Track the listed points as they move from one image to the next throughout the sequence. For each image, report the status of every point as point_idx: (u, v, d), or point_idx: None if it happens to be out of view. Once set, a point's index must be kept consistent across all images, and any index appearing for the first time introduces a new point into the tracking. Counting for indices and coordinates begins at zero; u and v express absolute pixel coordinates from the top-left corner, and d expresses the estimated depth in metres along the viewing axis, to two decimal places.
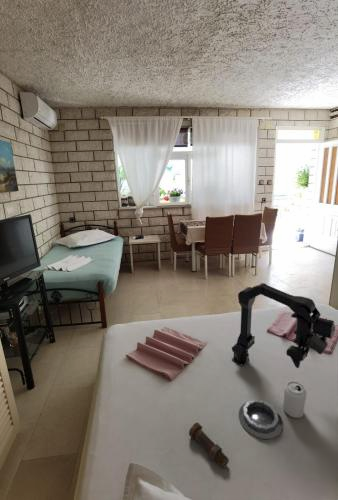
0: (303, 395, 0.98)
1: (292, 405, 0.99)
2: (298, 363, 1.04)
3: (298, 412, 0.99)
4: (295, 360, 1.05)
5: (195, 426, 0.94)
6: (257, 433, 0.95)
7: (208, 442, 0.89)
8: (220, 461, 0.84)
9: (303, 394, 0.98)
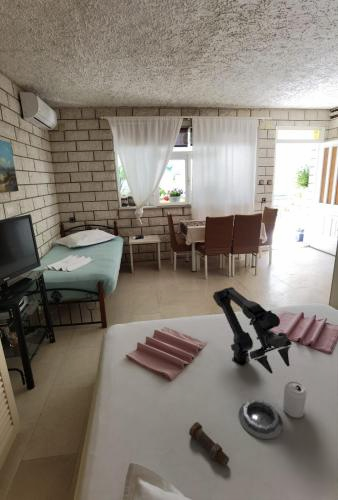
0: (303, 395, 0.98)
1: (292, 405, 0.99)
2: (267, 366, 1.06)
3: (298, 412, 0.99)
4: (264, 364, 1.07)
5: (195, 426, 0.94)
6: (257, 433, 0.95)
7: (208, 441, 0.90)
8: (220, 460, 0.84)
9: (303, 394, 0.98)
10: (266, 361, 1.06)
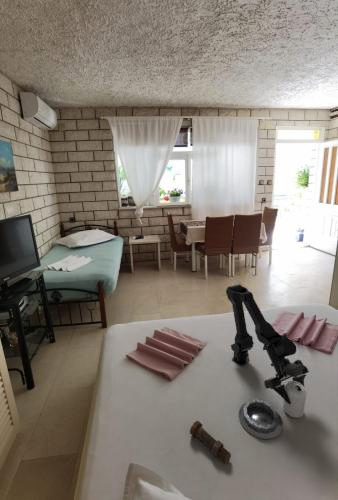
0: (303, 395, 0.98)
1: (292, 405, 0.99)
2: (284, 396, 0.99)
3: (298, 412, 0.99)
4: (281, 393, 1.01)
5: (196, 424, 0.94)
6: (257, 433, 0.95)
7: (210, 439, 0.90)
8: (223, 457, 0.86)
9: (303, 394, 0.98)
10: (284, 391, 1.00)
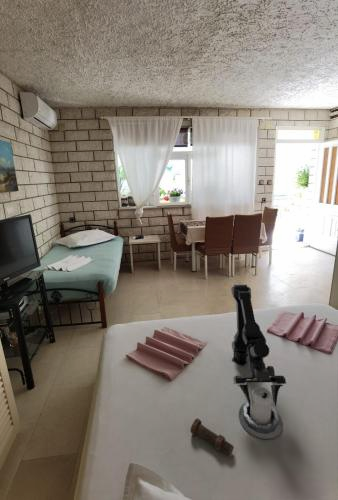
0: (265, 403, 0.95)
1: (254, 409, 0.97)
2: (246, 396, 0.98)
3: (259, 419, 0.97)
4: (245, 393, 1.00)
5: (196, 422, 0.95)
6: (257, 433, 0.95)
7: (211, 435, 0.92)
8: (226, 450, 0.88)
9: (265, 402, 0.95)
10: (246, 391, 0.98)
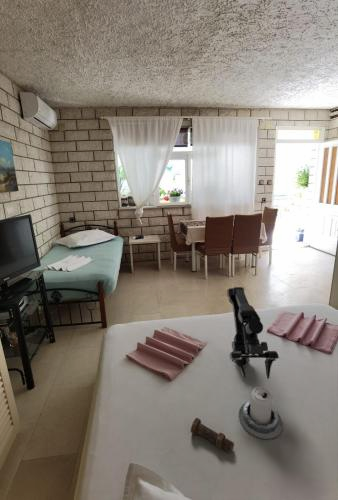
0: (265, 403, 0.95)
1: (254, 409, 0.97)
2: (241, 370, 1.06)
3: (259, 419, 0.97)
4: (240, 368, 1.07)
5: (196, 422, 0.95)
6: (257, 433, 0.95)
7: (212, 433, 0.92)
8: (227, 447, 0.88)
9: (265, 402, 0.95)
10: (241, 365, 1.06)
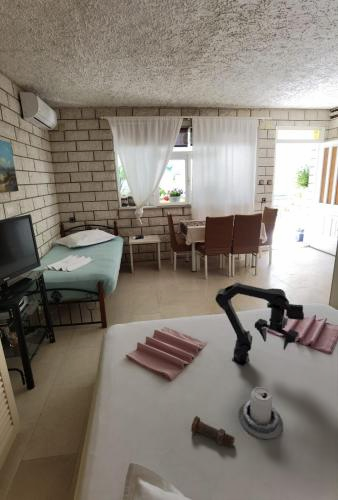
0: (265, 403, 0.95)
1: (254, 409, 0.97)
2: (287, 344, 1.20)
3: (259, 419, 0.97)
4: (287, 343, 1.19)
5: (196, 420, 0.96)
6: (257, 433, 0.95)
7: (212, 430, 0.94)
8: (229, 442, 0.90)
9: (265, 402, 0.95)
10: None
